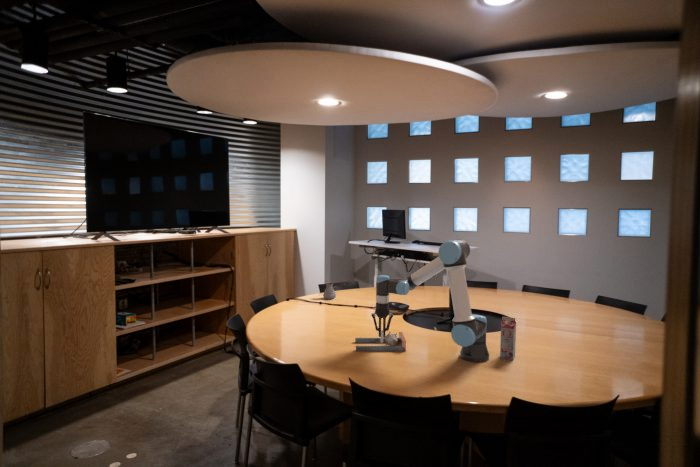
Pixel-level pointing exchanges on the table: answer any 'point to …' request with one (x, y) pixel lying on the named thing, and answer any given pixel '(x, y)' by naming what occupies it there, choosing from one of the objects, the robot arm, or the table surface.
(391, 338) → the spiky grey ball
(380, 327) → the robot arm
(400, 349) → the guide channel
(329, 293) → the coffee pot
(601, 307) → the table surface
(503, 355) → the juice carton
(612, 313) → the table surface
